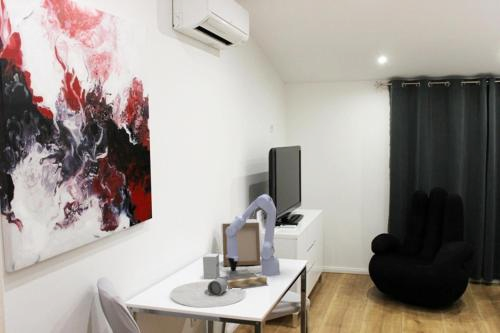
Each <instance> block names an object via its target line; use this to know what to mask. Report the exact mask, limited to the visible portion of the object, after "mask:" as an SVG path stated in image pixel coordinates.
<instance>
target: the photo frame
mask: <svg viewBox="0 0 500 333" xmlns="http://www.w3.org/2000/svg"><path fill="white" fill-rule="evenodd" d="M229 226H230V223H222V252H223V253H222V256H223V257H222V260H223V262H222V263H223V267H224V266H230V264H229V261H228V258H230V257H226V255H228V250H227V235H226V232H225V231H226V229H227V227H229ZM237 245H238V259H239V261H238V263H237V266H249V265H250V266H253V265H257V266H258V265H261V256H260V252H261V248H260V246H261V244H260V223H259V222H246V223H245V224H244V225H243V226H242V228H241V229H240V230H239V231H238V233H237Z"/></svg>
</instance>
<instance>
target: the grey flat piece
mask: <svg viewBox="0 0 500 333" xmlns="http://www.w3.org/2000/svg"><path fill="white" fill-rule="evenodd" d="M251 273H252V272H251V271H250V270H249V269H247V268H246V269H238V270H237V269H236V271H231V270H230V271H226V272H225V276H226V278H227V279H228V280H236V277H240V279H244V278H251Z"/></svg>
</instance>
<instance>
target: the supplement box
mask: <svg viewBox="0 0 500 333" xmlns="http://www.w3.org/2000/svg"><path fill="white" fill-rule="evenodd" d="M202 264H203V265H202V266H203V279H204V280H215V279H217V278H218V277H221V276H220V275H221V274H220V254H219V253H206V254H205V255H204V256H202Z"/></svg>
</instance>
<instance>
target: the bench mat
mask: <svg viewBox="0 0 500 333" xmlns="http://www.w3.org/2000/svg"><path fill="white" fill-rule="evenodd" d="M251 275H255V277H259V276H258V275H256V274H255V272H251ZM218 278H222V279H224V280H225V281H226V283H227V281H229V280H228V279H227V278H226V275H225V276H219V277H218ZM268 286H269V284H268V283H267V284H264V285H257V286H249V287H242V288H241V289H240V290H246V289H252V288H261V287H268Z"/></svg>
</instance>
